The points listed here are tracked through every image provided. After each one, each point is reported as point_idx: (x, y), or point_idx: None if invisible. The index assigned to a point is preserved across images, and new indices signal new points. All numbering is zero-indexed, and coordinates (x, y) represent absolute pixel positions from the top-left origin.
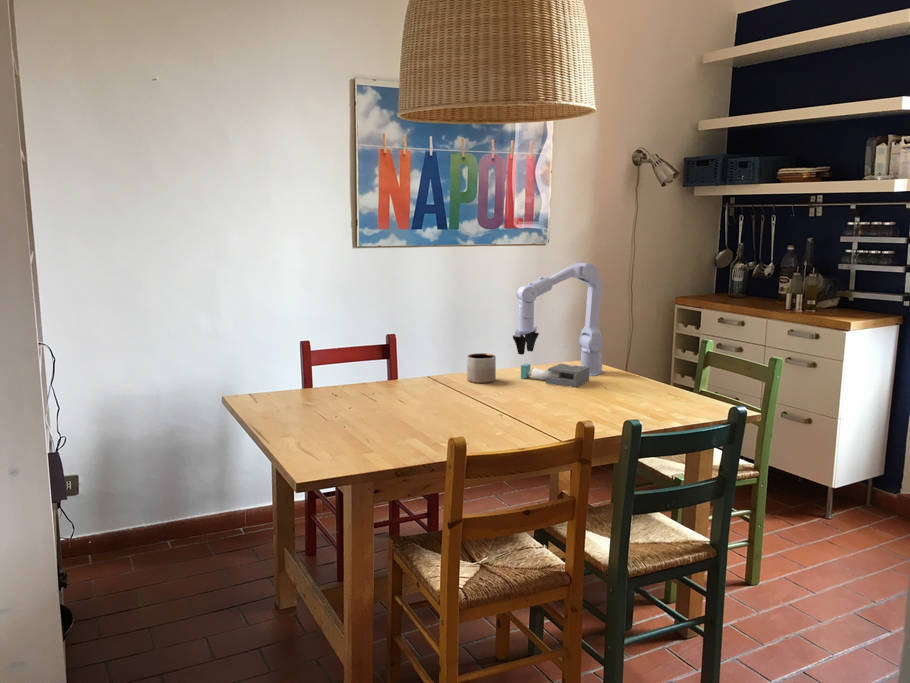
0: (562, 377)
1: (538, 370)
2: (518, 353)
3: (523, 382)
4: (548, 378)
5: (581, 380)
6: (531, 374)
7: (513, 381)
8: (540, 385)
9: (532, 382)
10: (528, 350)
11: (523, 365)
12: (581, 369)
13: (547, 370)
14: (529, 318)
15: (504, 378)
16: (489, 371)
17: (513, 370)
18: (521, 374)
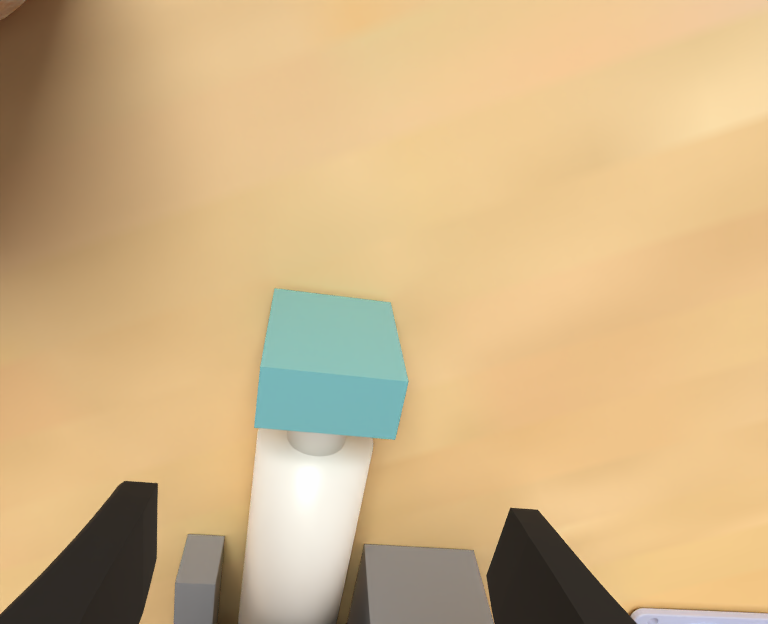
0: (354, 621)
1: (272, 524)
2: (112, 496)
3: (116, 365)
4: (177, 592)
5: None
6: (258, 431)
7: (97, 259)
8: None
9: (167, 433)
10: (508, 533)
11: (266, 397)
12: None
13: (278, 603)
14: None
15: (189, 104)
16: None
17: (699, 53)
18: (271, 314)
